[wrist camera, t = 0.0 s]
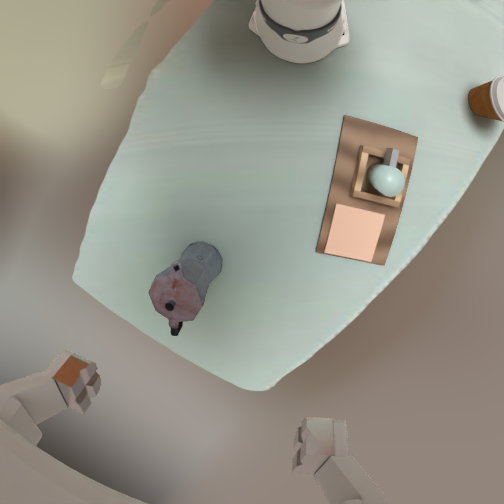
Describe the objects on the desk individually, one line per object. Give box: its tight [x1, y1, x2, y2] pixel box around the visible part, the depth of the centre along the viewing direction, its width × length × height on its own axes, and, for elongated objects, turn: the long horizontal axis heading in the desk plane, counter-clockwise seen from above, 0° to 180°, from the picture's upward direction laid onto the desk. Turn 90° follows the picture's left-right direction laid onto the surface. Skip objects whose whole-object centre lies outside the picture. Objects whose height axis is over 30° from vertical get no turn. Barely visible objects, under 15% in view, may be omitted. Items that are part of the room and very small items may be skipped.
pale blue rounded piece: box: [366, 148, 405, 197], centre depth 45 cm, size 8×5×8 cm, turn 172°
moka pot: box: [149, 242, 222, 336], centre depth 53 cm, size 10×15×20 cm, turn 175°
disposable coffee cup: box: [468, 76, 504, 121], centre depth 34 cm, size 10×10×12 cm
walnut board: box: [316, 115, 418, 265], centre depth 50 cm, size 27×15×4 cm, turn 172°
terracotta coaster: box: [324, 203, 385, 262], centre depth 53 cm, size 10×10×1 cm
